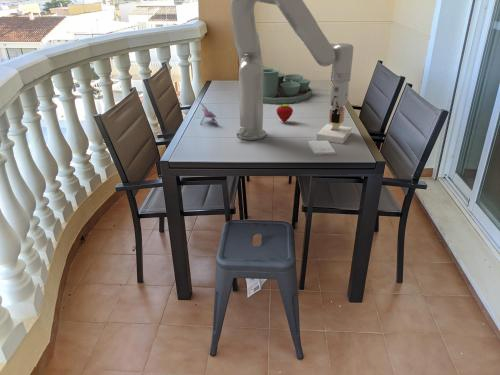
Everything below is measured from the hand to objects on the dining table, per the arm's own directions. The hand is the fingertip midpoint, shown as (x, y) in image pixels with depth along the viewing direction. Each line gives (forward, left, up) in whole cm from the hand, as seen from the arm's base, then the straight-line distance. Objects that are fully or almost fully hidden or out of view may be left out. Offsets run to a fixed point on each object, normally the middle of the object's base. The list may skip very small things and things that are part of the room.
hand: (336, 120), depth 168 cm
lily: (-10, +57, -7) cm, 58 cm away
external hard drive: (-17, +1, -7) cm, 19 cm away
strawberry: (+6, +26, -7) cm, 28 cm away
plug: (0, 0, -3) cm, 3 cm away
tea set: (+50, +49, -7) cm, 71 cm away
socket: (-2, 0, -6) cm, 7 cm away
